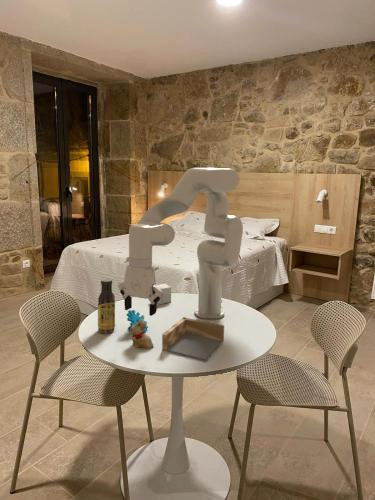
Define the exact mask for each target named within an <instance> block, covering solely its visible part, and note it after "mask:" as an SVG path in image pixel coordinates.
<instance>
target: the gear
mask: <svg viewBox="0 0 375 500" xmlns="http://www.w3.org/2000/svg"><path fill="white" fill-rule="evenodd" d="M126 316H127V317H126V320H127V321H128V322H130V323H129V326H128V327H127V330H128V331H130V329H131V327H132V326H133V325H136V324H137V322H138V321H139V320H141V319H142V321H143V322H144V323H146V327H145V329H144V333H146V332H147V330H148V328H149V326H148V322H147V321H146V320H145V314H144V315H143V314H142V315H141V313H140V312H138V311H136V310H135V309H132V310H131V309H128V310H127V313H126Z"/></svg>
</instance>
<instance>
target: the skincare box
mask: <svg viewBox="0 0 375 500" xmlns="http://www.w3.org/2000/svg"><path fill="white" fill-rule="evenodd" d="M156 286H157V287H158V288H160V289H161V290H162V291H164V294H163V296H162V298H161V299H160V300H159V301H158V302H157V304H159V305H163V304H167V303H172V286H170V285H168V284H167V283H161V284H156ZM157 295H158V293H157V292H156V293H155V296H156V297H157Z"/></svg>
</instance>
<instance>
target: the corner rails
mask: <svg viewBox="0 0 375 500" xmlns="http://www.w3.org/2000/svg"><path fill="white" fill-rule="evenodd" d="M184 333H189V334H193V335H198V336H202V337H207V338H211V339H215V340H220V341H223V342H224V340H223V339H225V338H224V337H225V336H224V335H225V325H222V324H218V323H213V322H209V321H203V320H199V319H194V318H189V317H185V316H183V317H181V318H180V319H179V320H178V321H177V322H176V323H174V324H173V325H172V326H170V327H169V328H168V329H167V330H165V331H164V332H163V333H162V334H161V336H162V338H161V341H162V343H161V351H163V352H166V349H168V348H169V347H170V346H171V345H172V344H173V343H174V342H175V341H177V340H178V339H179V338H180V337H181V336H182V335H183V334H184Z"/></svg>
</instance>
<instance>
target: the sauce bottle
mask: <svg viewBox="0 0 375 500" xmlns="http://www.w3.org/2000/svg"><path fill="white" fill-rule="evenodd" d="M100 286H101V290H100V291H101V292H100V293H99V295H98V299H97V327H98V330H97V331H98V332H99V333H101V334H110V333H113V332H114V331H115V328H116V301H115V300H116V299H115V294H114V293H113V287H112V286H113V279H112V278H102V279H101V280H100Z"/></svg>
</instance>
